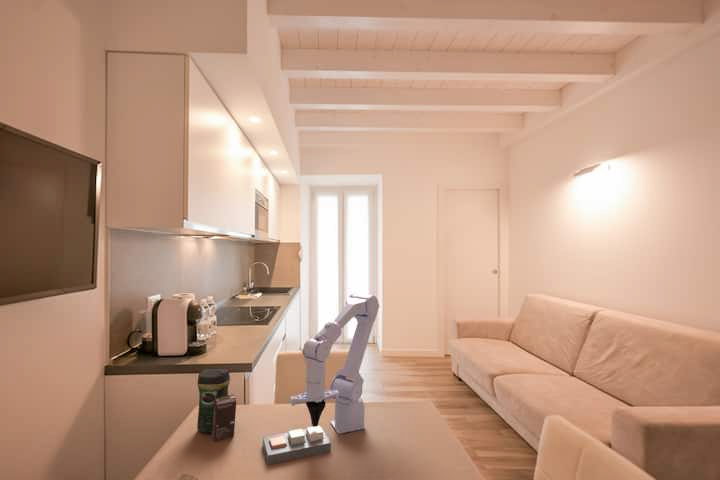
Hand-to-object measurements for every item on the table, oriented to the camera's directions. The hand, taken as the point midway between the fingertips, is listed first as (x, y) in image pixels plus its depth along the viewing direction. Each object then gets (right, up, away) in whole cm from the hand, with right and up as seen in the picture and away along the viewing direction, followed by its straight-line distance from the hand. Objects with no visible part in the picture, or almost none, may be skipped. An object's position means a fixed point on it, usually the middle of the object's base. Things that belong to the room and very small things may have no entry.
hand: (314, 425), depth 111 cm
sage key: (-5, -4, -2) cm, 7 cm away
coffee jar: (-34, -5, +8) cm, 35 cm away
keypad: (-5, -6, -2) cm, 8 cm away
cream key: (0, -4, 0) cm, 4 cm away
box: (-29, -5, +4) cm, 30 cm away
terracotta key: (-10, -6, -4) cm, 12 cm away
